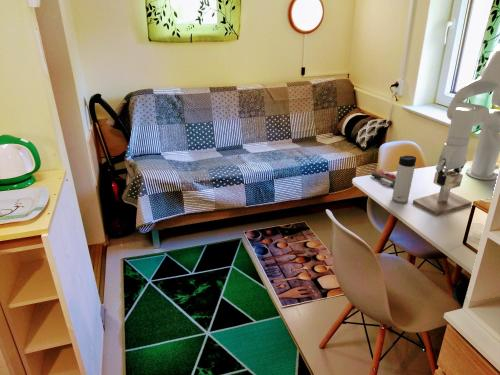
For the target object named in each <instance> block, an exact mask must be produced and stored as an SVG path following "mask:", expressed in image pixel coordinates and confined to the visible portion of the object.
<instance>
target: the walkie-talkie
mask: <svg viewBox="0 0 500 375" xmlns="http://www.w3.org/2000/svg"><path fill="white" fill-rule="evenodd" d="M396 175H397V173H394V172H393V171H387V170H383V169H379V170H376V171H375V172H374V173H372V174H371V177H373V178H374V179H376V180H377V181H380V182H381V183H382V184H383V185H386V186H387V187H389V188H390V187H393V188H394V185H395V180H396Z"/></svg>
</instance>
